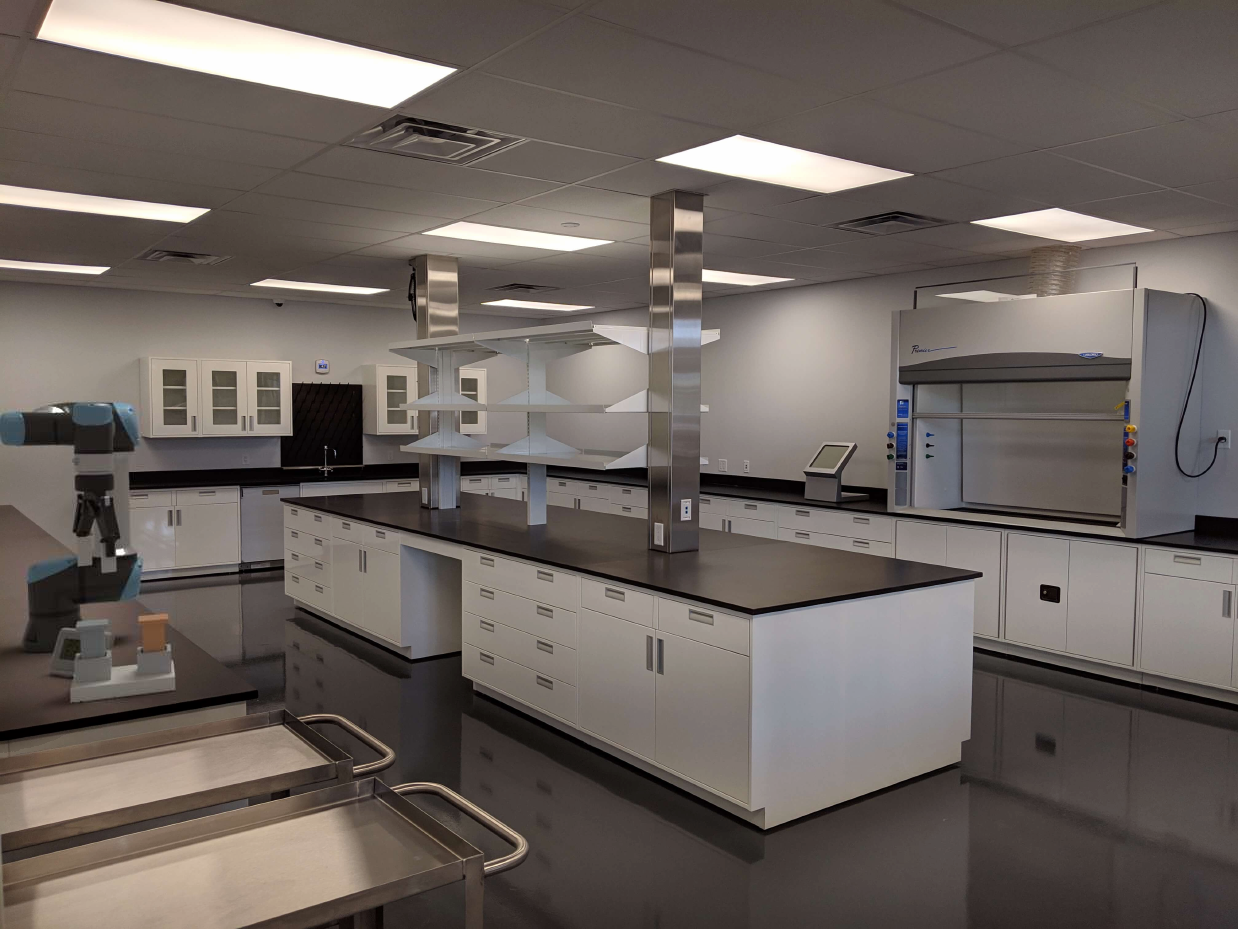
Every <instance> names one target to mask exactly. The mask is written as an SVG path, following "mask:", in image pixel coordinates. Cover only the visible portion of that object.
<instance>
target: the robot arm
mask: <svg viewBox="0 0 1238 929" xmlns="http://www.w3.org/2000/svg"><path fill="white" fill-rule="evenodd" d="M138 424H139V423H138V420H137V414H136V410H135V407H134V406H133V405H132V404H130V403H125V402H115V401H112V402H92V401H91V402H87V401H85V402H75V401H74V402H73V401H72V402H71V401H70V402H68V401H67V402H60V403H55V404H53V403H52V404H50V405H44V406H40V407H38V408H35V409H34V410H32V411H27V412H26V411H10V412H9V411H8V412H3V413H1V415H0V442H1V443H2V444H3V445H4V446H8V447H9V446H14V447H33V446H35V447H36V446H39V447H40V446H41V447H42V446H69V447H70V446H71V447H73V448H74V449H73V454H74V455H73V457H74V458H72V459H71V462H72V464H73V463H74V472H76V473H77V474H75V476H74V490H75V491H76V492H79V493H77V494H76V508H75V512H74V514H75V515H74V520H73V526H72V534H75V536H76V542H77V547H76V548H77V552H76V553H77V555H66V556H65V555H64V556H58V557H52V558H47V559H43V560H40V561H37V562H35V563H32V564H31V565H30V566H29V567H28V569H27V580H26V584H27V596H28V597H27V598H28V600H27V602H28V606H27V607H28V620H27V624H26V626H25V629H24V634H23V636H22V638H21V650H22V651H23V652H27V653H51V652H52V653H53V652H54V649H55V645H56V642H57V638H58V635H59V632H60V630H61V629H63V628H73V629H76V625H77V622H78V621H84V620H83V617H82V615H81V605H93V604H94V605H95V604H103V603H104V604H105V603H121V602H128V601H134V600H136V599H137V598H138V596H139V595H140V588H141V580H142V572H143V563H144V558H143V557H141V556H138V550H136V549H135V547H133V546H132V544H131V542H132V540H131V513H130V512H131V511H130V510H131V508H130V506H131V505H130V504H131V503H130V476H129V475H130V474H129V473H130V472H129V471H130V470H129V469H130V468H129V459H130V457H131V456H132V455H133V454H134V453H135V447H138V446H140V445H141V437H140V431H139V426H138ZM92 528H93V531H92ZM92 536H93V538H92ZM92 540H94V541H93V543H92ZM92 544H94V546H92ZM92 547H93V549H92Z"/></svg>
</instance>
